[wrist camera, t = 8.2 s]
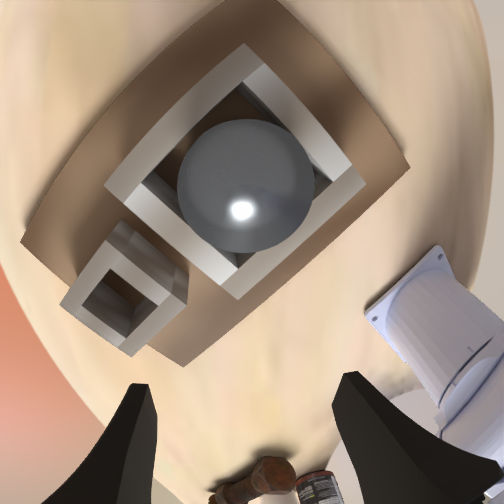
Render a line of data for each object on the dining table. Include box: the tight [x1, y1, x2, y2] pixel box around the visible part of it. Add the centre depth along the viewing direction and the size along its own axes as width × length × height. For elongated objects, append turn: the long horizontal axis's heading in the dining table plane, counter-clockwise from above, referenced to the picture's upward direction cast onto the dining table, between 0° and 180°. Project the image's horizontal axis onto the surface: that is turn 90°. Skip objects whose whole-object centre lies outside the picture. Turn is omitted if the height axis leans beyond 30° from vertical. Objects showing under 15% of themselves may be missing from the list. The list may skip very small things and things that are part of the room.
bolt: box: [208, 456, 296, 504], centre depth 30 cm, size 6×5×15 cm
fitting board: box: [20, 0, 411, 367], centre depth 14 cm, size 14×20×4 cm
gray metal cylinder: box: [177, 119, 315, 253], centre depth 12 cm, size 4×4×6 cm
